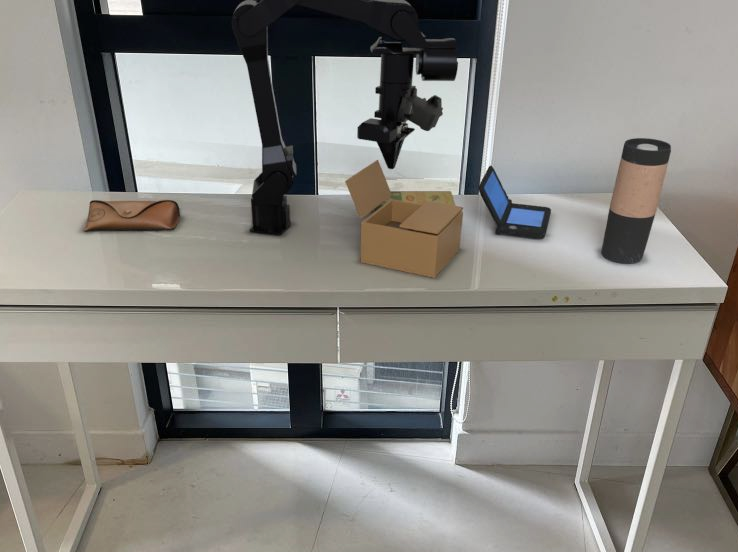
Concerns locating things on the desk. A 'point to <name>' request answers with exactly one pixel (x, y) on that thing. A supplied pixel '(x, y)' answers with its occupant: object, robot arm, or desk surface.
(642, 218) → the travel mug
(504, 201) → the game console
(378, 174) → the flap
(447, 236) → the kraft box
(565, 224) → the desk surface
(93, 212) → the sunglasses case
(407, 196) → the carton
